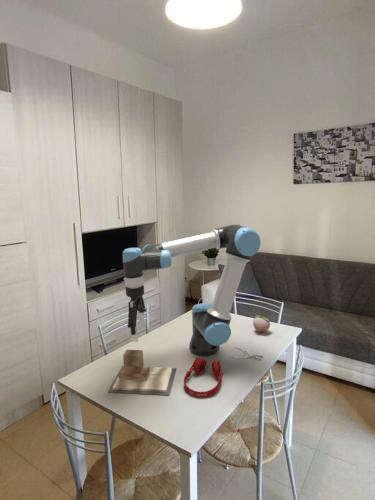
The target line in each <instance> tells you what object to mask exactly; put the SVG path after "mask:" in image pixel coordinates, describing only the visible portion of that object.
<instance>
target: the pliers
mask: <svg viewBox="0 0 375 500" xmlns="http://www.w3.org/2000/svg"><path fill="white" fill-rule="evenodd" d="M234 348H235V349H237V350H240V351H242V353H243V354H240V355H239V356H237V355H236V356H235V355H232V354H231V355H228V357H229V358H231V359H232V358H233V359H239V360H245V359H253V360H255V361H256V360H257V361H259V360H260V362H262V359H263V358H264V355H263V354H260V353H254V352H253V353H251V352H250V351H249V350H247V349H244V348H242V347H237V346H235V347H234Z"/></svg>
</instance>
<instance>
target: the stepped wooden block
mask: <svg viewBox="0 0 375 500" xmlns="http://www.w3.org/2000/svg"><path fill="white" fill-rule="evenodd" d="M143 351H144V350H143V349H126V350H125V351H124V353H123V355H122V357H123V358H122V360H123V365H121V367H122V368H121V367H120V369H119V371H118V373H119V379H123V380H145V381H147V379H148V377H149V374H150V372H149V367H150V366H144V352H143Z"/></svg>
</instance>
